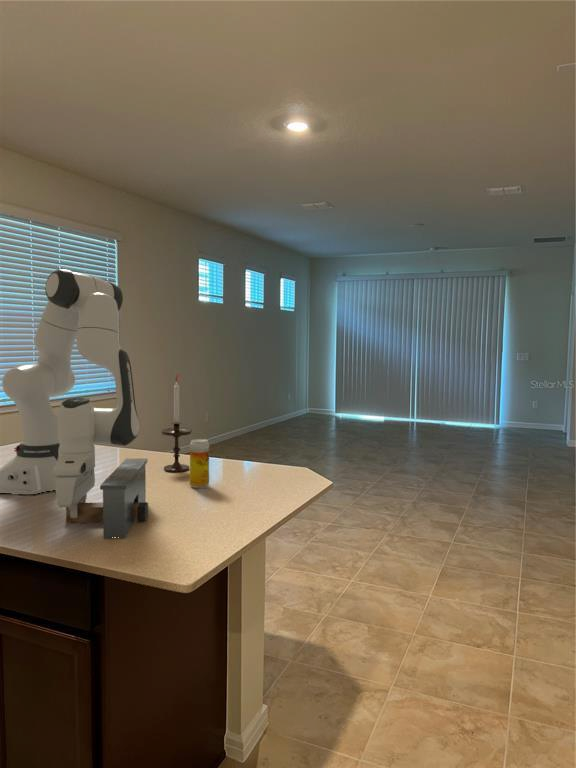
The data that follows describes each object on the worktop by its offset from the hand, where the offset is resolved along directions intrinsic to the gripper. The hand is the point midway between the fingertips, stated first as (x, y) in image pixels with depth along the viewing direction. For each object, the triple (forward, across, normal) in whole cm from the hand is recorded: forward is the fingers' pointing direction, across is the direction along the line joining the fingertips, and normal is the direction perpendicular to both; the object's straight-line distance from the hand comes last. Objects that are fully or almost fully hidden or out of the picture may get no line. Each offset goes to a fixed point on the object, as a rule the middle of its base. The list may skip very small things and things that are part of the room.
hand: (77, 513), depth 143 cm
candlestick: (+2, -55, +18) cm, 58 cm away
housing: (+2, 0, +12) cm, 13 cm away
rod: (+2, 0, +8) cm, 8 cm away
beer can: (+2, -32, +28) cm, 43 cm away
